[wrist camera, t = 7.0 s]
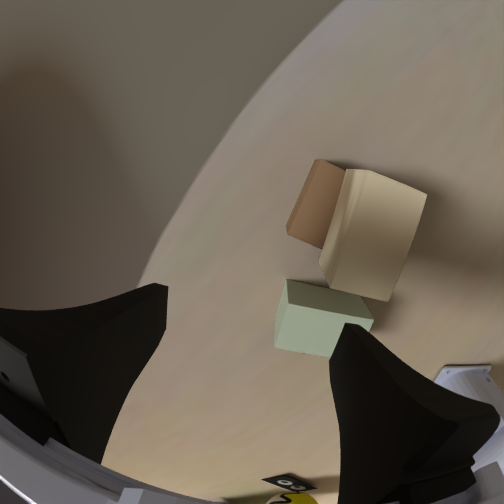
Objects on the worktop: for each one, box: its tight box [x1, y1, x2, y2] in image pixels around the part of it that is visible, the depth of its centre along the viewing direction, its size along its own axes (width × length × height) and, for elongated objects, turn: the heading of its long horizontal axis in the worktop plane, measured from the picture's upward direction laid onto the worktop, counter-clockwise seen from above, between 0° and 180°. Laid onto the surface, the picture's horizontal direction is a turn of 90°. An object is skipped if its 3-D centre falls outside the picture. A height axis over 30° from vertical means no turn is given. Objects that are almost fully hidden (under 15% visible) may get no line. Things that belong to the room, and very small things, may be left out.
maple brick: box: [318, 169, 427, 302], centre depth 14 cm, size 6×4×4 cm, turn 166°
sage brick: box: [274, 279, 374, 357], centre depth 19 cm, size 6×4×4 cm, turn 78°
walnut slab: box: [286, 159, 346, 249], centre depth 18 cm, size 7×5×3 cm
